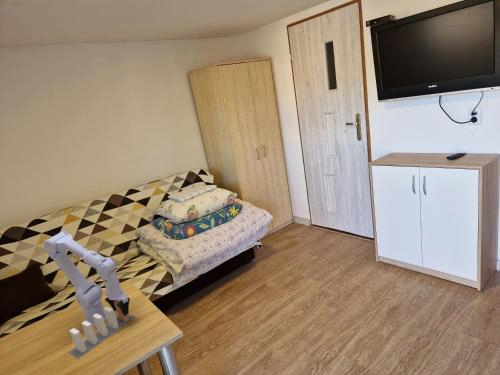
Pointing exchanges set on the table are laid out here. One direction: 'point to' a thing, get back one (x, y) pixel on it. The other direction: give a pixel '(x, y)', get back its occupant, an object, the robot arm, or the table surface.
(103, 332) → the domino
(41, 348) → the table surface
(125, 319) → the domino
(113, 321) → the domino
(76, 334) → the domino
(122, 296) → the robot arm
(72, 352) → the mat
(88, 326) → the domino
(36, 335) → the table surface
